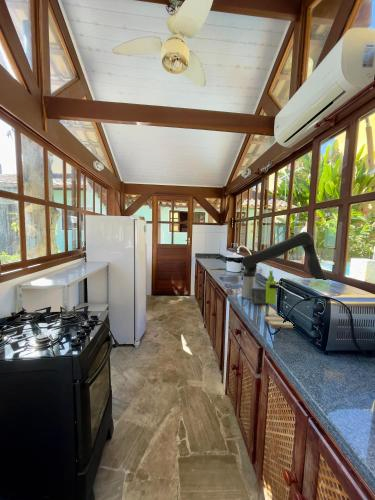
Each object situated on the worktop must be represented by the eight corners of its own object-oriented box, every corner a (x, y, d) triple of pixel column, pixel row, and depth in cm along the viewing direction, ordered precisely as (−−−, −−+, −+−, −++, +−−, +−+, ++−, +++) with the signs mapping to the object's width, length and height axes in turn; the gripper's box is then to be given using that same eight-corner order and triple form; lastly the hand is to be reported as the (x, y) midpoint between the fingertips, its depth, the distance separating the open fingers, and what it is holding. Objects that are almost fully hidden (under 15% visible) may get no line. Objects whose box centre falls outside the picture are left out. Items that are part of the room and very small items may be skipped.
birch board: (264, 319, 131) (264, 316, 131) (284, 319, 131) (284, 316, 131) (272, 328, 119) (272, 324, 119) (294, 328, 119) (294, 324, 119)
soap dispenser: (275, 301, 143) (275, 270, 142) (275, 304, 136) (276, 271, 135) (265, 300, 145) (266, 269, 144) (265, 303, 138) (266, 271, 137)
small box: (266, 302, 165) (266, 288, 164) (268, 304, 158) (268, 290, 157) (251, 301, 166) (251, 287, 165) (253, 304, 159) (253, 289, 158)
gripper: (289, 277, 146) (263, 276, 146) (300, 282, 132) (272, 282, 132) (288, 288, 147) (263, 288, 147) (299, 294, 133) (271, 294, 132)
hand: (267, 285), depth 139 cm, fingers closed on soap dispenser, 6 cm apart
